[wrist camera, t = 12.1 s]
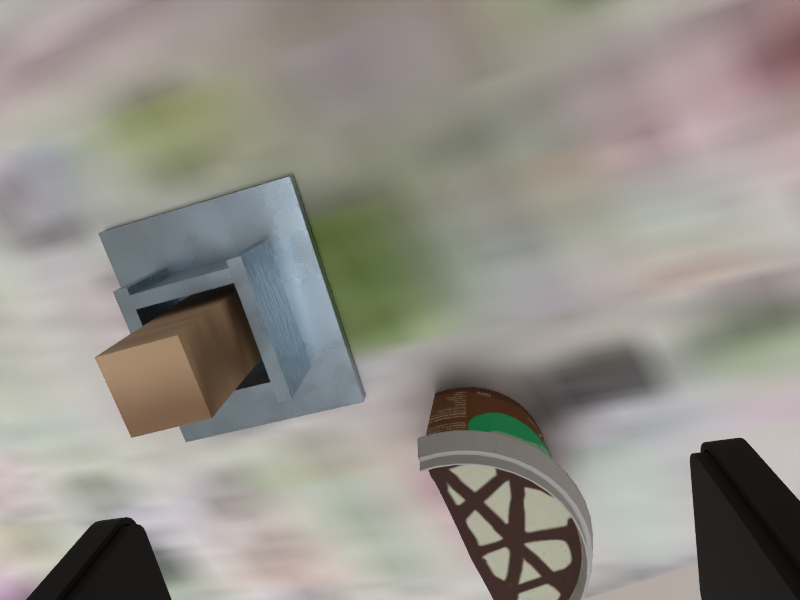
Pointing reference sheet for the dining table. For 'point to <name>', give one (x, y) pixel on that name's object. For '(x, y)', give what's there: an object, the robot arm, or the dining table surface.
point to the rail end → (181, 362)
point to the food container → (508, 496)
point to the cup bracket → (245, 297)
